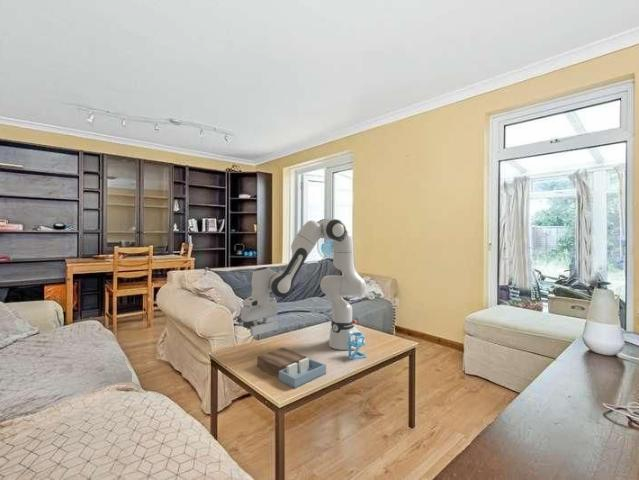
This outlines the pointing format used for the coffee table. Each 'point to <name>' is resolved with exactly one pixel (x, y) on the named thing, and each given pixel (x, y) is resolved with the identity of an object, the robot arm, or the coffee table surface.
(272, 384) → the coffee table surface
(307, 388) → the coffee table surface
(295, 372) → the tile
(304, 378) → the box
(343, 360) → the coffee table surface
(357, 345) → the light blue open frame
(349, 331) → the robot arm
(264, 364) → the plate
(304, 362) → the tile
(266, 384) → the coffee table surface
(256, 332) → the scraper
